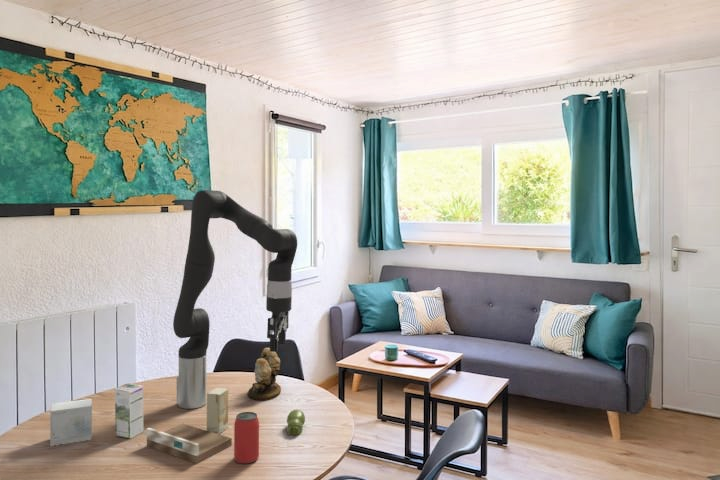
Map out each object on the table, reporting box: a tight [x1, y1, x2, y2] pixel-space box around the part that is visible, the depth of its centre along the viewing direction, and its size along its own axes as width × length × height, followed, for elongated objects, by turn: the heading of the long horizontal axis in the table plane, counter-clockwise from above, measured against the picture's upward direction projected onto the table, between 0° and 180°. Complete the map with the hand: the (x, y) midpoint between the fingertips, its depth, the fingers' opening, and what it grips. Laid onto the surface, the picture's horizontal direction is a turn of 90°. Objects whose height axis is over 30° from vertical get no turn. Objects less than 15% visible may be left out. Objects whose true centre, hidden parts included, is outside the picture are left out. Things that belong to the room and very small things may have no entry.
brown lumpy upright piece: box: [247, 347, 282, 402], centre depth 193 cm, size 18×12×17 cm, turn 2°
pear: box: [286, 409, 306, 436], centre depth 160 cm, size 6×5×10 cm
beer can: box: [233, 411, 260, 465], centre depth 140 cm, size 7×7×12 cm
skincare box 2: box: [206, 387, 229, 435], centre depth 158 cm, size 6×4×12 cm
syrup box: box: [114, 383, 145, 439], centre depth 154 cm, size 6×6×14 cm
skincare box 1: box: [49, 398, 93, 447], centre depth 150 cm, size 10×6×10 cm, turn 117°
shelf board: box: [146, 423, 232, 464], centre depth 147 cm, size 20×13×5 cm, turn 60°
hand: (277, 347), depth 157 cm, fingers open, 8 cm apart
